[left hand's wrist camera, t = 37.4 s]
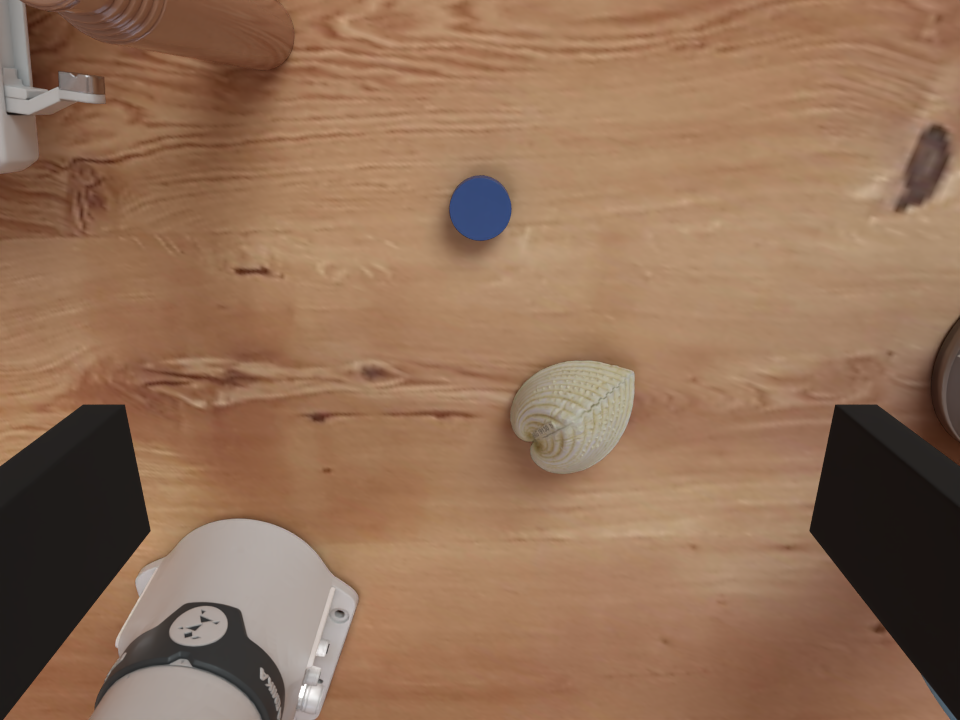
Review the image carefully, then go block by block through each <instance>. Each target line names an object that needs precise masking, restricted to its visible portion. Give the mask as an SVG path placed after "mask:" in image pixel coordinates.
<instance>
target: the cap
mask: <svg viewBox="0 0 960 720" xmlns="http://www.w3.org/2000/svg"><path fill="white" fill-rule="evenodd" d="M450 217H451V220H452V223H453V225H454V226H455V228H456V229H457V230H458V231H459V232H460V233H461V234H462V235H464V236H465V237H467V238H469V239H472V240H478V241H483V240H489V239H491V238H494V237H496V236H497V235H499V234H500V233H501V232H502V231H503V230H504V229H505V228H506V226H507V224H508V222H509V220H510V217H511V202H510V198H509V195H508V193H507V191H506V189H505V188H504V187H503V185H502V184H501V183H500V182H498V181H497V180H495V179H493V178H491V177H488V176H481V175H479V176H473V177H470V178H467V179H466V180H464V181H463V182H461V183H460V184H459V185H458V186H457V188H456V189H455V191H454V193H453V195H452V198H451V201H450Z"/></svg>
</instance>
